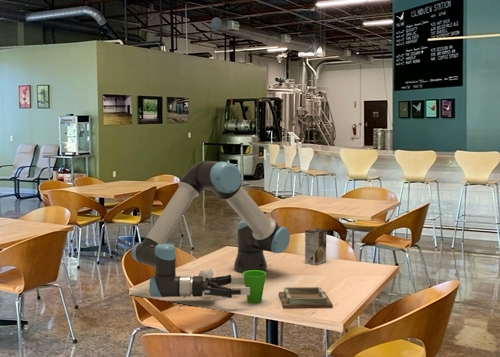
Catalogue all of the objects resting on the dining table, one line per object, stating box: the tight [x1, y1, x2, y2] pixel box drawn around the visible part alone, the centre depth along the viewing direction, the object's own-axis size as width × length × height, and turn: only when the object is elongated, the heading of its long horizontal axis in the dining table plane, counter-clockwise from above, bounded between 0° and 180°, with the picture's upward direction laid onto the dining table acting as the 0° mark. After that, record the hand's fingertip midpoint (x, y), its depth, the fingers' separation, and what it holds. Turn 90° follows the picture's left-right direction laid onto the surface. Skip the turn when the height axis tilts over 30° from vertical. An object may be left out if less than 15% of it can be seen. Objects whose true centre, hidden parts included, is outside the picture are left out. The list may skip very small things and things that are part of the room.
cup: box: [242, 270, 267, 305], centre depth 207 cm, size 9×9×11 cm
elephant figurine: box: [198, 268, 214, 281], centre depth 231 cm, size 7×8×6 cm
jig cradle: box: [278, 286, 334, 309], centre depth 209 cm, size 16×18×3 cm
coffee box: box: [304, 227, 327, 266], centre depth 267 cm, size 9×6×16 cm
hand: (249, 285), depth 207 cm, fingers open, 13 cm apart
